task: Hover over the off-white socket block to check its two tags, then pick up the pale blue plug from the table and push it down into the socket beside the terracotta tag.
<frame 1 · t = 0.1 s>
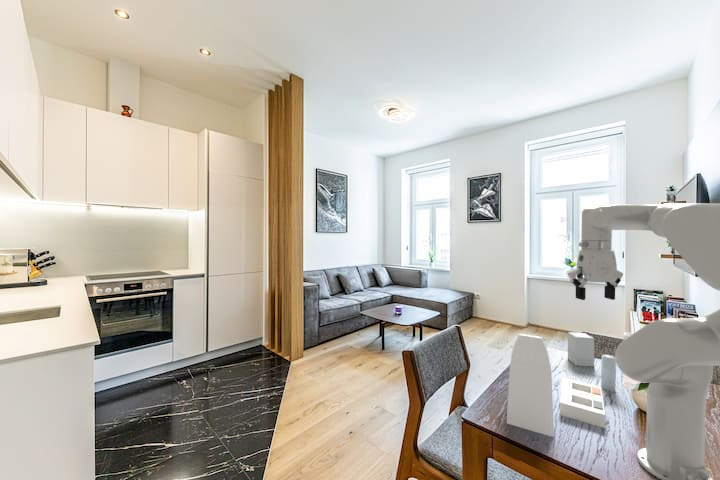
hand: (595, 298, 94), 36 cm above the table, tool pointing down, fingers open, 9 cm apart
strainer: (634, 367, 125), on the table
supplement box: (580, 363, 130), on the table
socket block: (581, 405, 97), on the table
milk: (529, 419, 90), on the table
plug: (608, 388, 108), on the table
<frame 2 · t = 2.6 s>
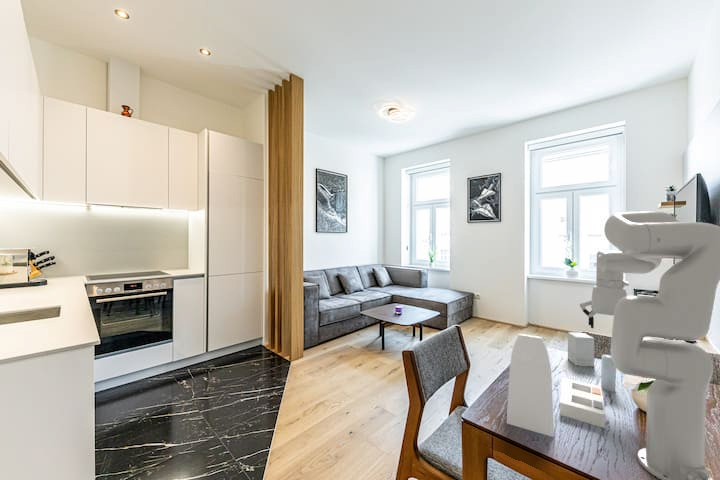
hand: (608, 329, 107), 22 cm above the table, tool pointing down, fingers open, 9 cm apart
nothing on the table moved.
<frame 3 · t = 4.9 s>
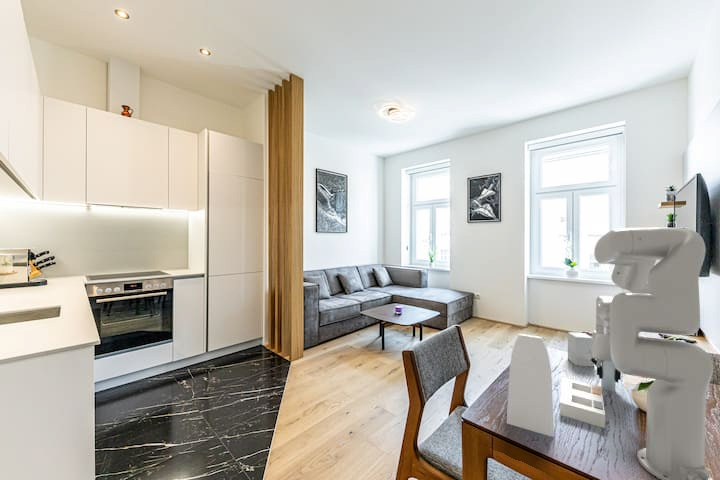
hand: (608, 378, 108), 4 cm above the table, tool pointing down, fingers closed on plug, 4 cm apart
plug: (608, 388, 108), on the table, touching gripper
everything else where it was.
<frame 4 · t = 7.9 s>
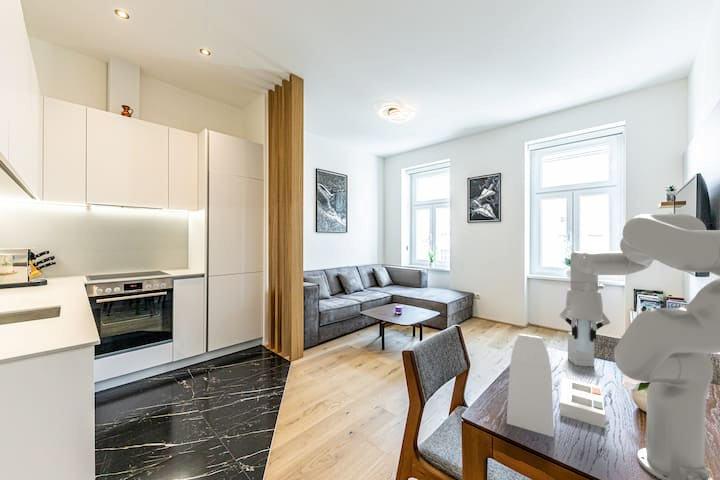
hand: (583, 338, 101), 21 cm above the table, tool pointing down, fingers closed on plug, 4 cm apart
plug: (583, 349, 101), point 17 cm above the table, touching gripper
everything else where it was.
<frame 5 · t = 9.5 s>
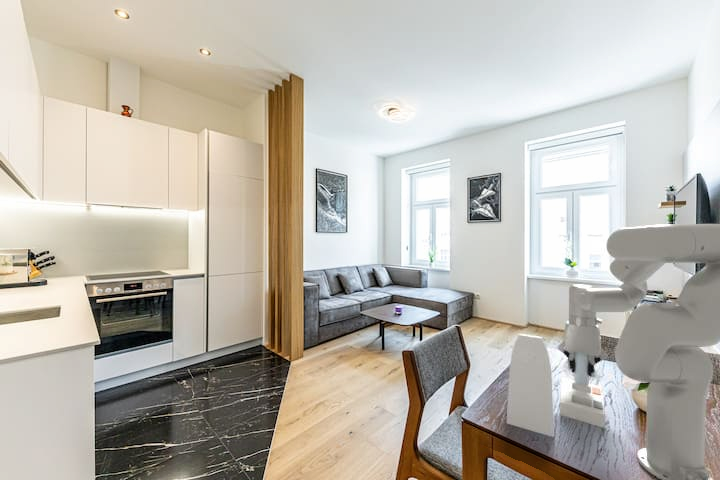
hand: (581, 372, 101), 9 cm above the table, tool pointing down, fingers closed on plug, 4 cm apart
plug: (581, 383, 101), point 6 cm above the table, touching gripper
everything else where it was.
when the fingers open (5 cm above the table, at t = 10.8 s): plug drops 1 cm, resting in socket block.
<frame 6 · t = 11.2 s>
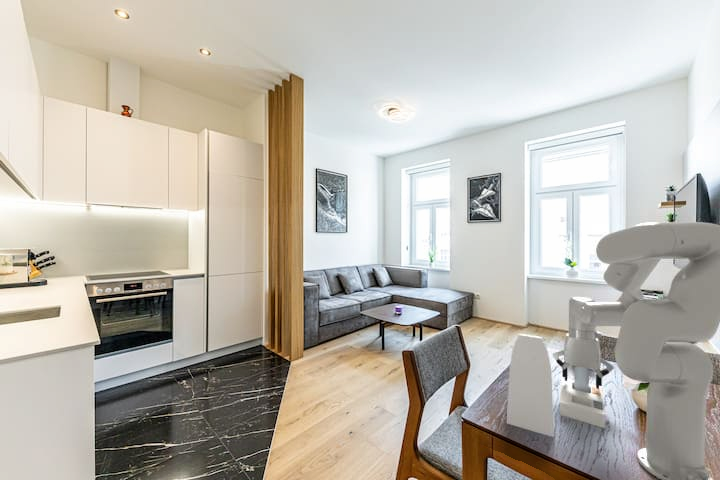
hand: (581, 383, 101), 6 cm above the table, tool pointing down, fingers open, 8 cm apart
plug: (581, 399, 101), resting in socket block
everything else where it was.
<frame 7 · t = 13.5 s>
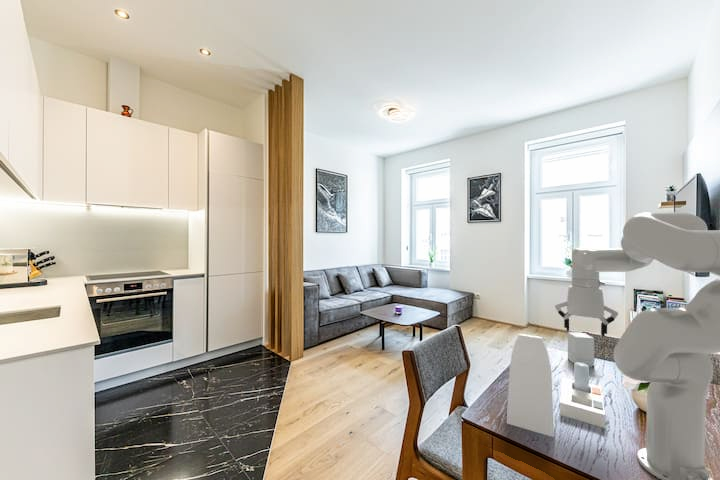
hand: (584, 332, 101), 23 cm above the table, tool pointing down, fingers open, 9 cm apart
nothing on the table moved.
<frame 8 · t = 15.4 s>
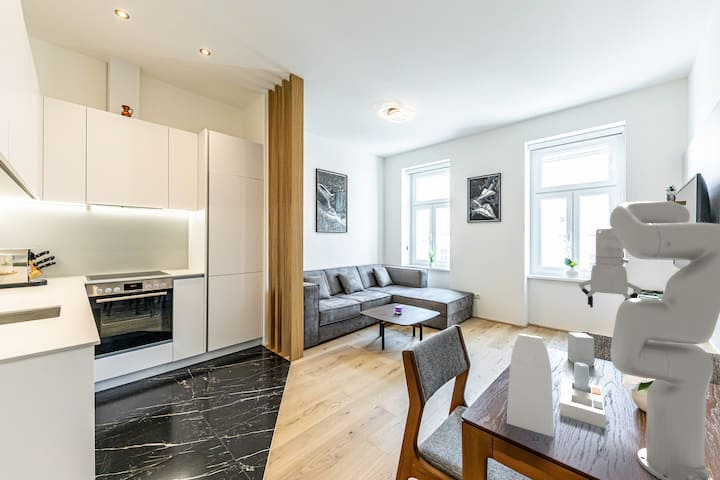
hand: (608, 308, 105), 30 cm above the table, tool pointing down, fingers open, 9 cm apart
nothing on the table moved.
at the end: plug 0.1 cm from the target spot on the socket block, point 0.0 cm above the socket block's base; plug tilted 0°; the gripper is holding nothing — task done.
